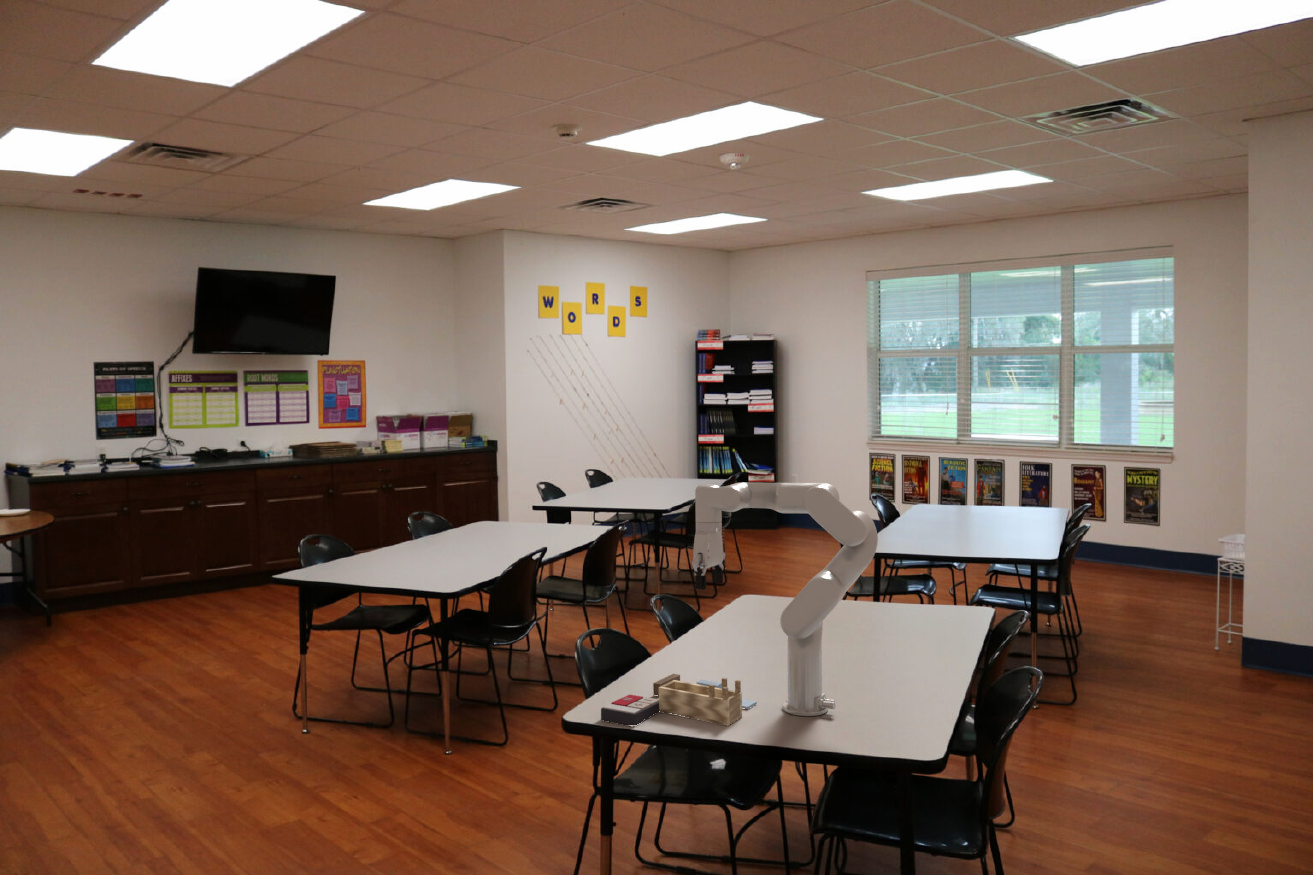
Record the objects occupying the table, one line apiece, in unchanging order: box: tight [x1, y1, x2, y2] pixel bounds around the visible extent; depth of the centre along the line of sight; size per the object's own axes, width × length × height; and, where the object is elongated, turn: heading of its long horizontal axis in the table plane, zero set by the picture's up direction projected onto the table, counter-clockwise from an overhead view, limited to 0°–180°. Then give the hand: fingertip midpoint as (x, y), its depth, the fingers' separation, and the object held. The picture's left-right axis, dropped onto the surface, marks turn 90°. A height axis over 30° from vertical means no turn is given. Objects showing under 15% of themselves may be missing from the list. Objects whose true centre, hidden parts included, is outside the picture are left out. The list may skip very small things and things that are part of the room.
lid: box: [696, 679, 758, 710], centre depth 269 cm, size 22×8×5 cm, turn 57°
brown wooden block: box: [652, 673, 681, 696], centre depth 278 cm, size 2×11×4 cm, turn 146°
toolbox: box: [658, 677, 743, 727], centre depth 257 cm, size 22×8×10 cm, turn 57°
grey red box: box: [600, 694, 660, 726], centre depth 258 cm, size 11×4×15 cm
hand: (709, 585), depth 269 cm, fingers open, 9 cm apart
